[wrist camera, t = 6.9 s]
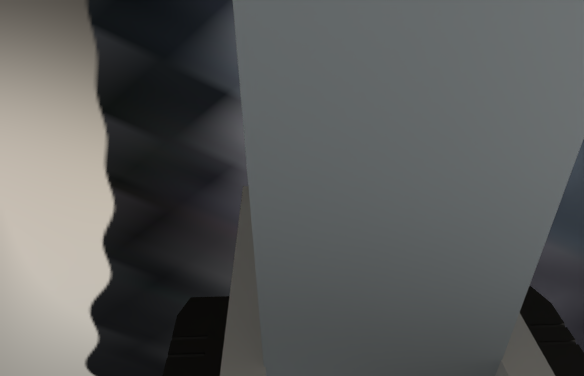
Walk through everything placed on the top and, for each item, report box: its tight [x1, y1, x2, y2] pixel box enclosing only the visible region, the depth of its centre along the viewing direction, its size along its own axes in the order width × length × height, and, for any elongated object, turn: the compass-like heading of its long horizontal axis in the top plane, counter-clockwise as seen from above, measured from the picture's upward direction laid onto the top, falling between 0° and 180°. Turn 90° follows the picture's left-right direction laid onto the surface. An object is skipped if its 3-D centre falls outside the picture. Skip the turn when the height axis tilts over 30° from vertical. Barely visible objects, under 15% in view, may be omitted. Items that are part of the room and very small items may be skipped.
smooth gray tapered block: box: [233, 0, 584, 376], centre depth 10 cm, size 19×4×6 cm, turn 1°
